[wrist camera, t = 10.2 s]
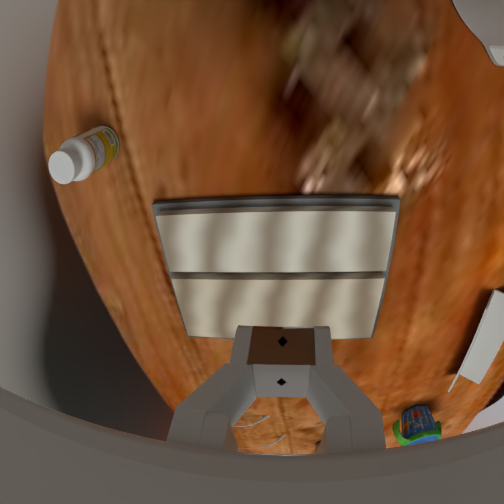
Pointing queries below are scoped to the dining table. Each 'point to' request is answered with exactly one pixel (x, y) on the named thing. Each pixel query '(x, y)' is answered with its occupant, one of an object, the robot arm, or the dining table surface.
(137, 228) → the dining table surface
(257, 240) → the floor panel
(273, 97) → the dining table surface
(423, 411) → the snack cup
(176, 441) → the robot arm
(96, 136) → the supplement bottle
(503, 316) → the z bracket
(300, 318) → the loose plank
